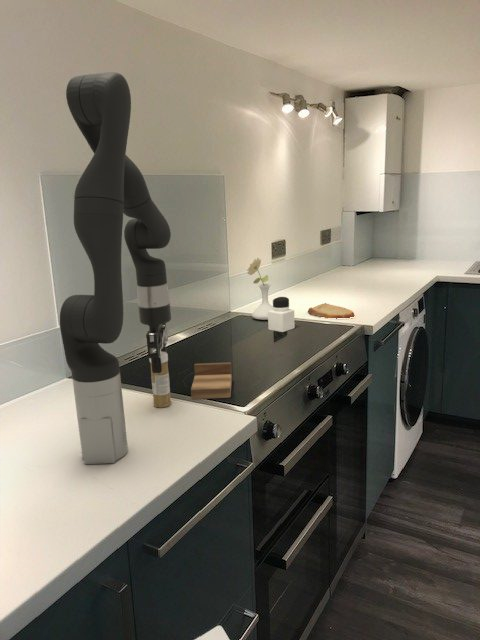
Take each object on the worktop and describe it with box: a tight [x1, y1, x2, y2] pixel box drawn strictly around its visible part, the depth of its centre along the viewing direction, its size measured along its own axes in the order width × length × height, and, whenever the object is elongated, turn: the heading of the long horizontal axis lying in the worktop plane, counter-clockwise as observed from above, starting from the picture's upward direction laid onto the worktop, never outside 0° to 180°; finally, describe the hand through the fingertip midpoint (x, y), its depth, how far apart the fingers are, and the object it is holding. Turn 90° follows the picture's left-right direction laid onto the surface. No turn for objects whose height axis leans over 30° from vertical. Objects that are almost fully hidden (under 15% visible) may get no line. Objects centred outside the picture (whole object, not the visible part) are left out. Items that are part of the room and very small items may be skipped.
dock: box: [190, 361, 233, 400], centre depth 144 cm, size 12×10×6 cm
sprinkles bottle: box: [148, 351, 172, 408], centre depth 134 cm, size 5×5×14 cm
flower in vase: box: [247, 257, 274, 321], centre depth 216 cm, size 13×11×25 cm
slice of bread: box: [307, 302, 356, 320], centre depth 221 cm, size 18×18×4 cm
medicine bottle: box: [267, 296, 296, 333], centre depth 201 cm, size 7×7×12 cm
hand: (160, 366), depth 134 cm, fingers open, 8 cm apart
